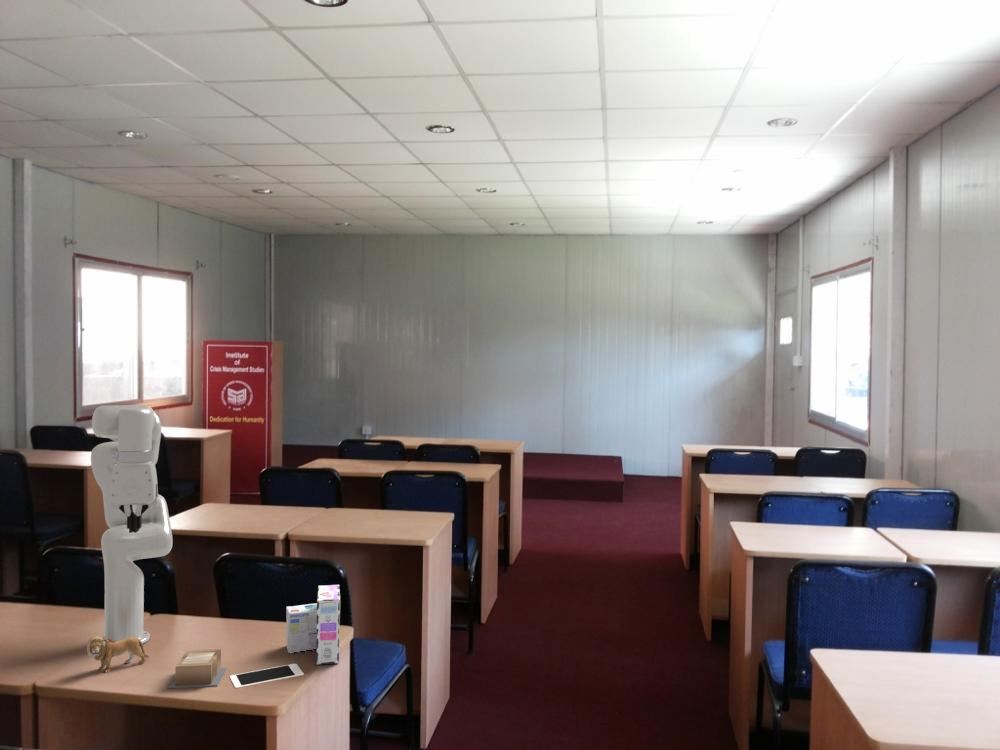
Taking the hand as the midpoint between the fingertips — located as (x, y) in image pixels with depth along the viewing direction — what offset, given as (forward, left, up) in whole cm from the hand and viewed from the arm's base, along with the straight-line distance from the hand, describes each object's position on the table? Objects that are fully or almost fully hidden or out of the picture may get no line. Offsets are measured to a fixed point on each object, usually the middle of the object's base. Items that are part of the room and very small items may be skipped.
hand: (134, 531), depth 184 cm
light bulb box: (-9, +41, -34) cm, 54 cm away
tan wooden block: (+3, +17, -31) cm, 36 cm away
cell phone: (+9, +33, -35) cm, 49 cm away
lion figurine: (-1, -4, -34) cm, 35 cm away
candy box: (-3, +47, -34) cm, 58 cm away
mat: (+9, +17, -34) cm, 39 cm away
